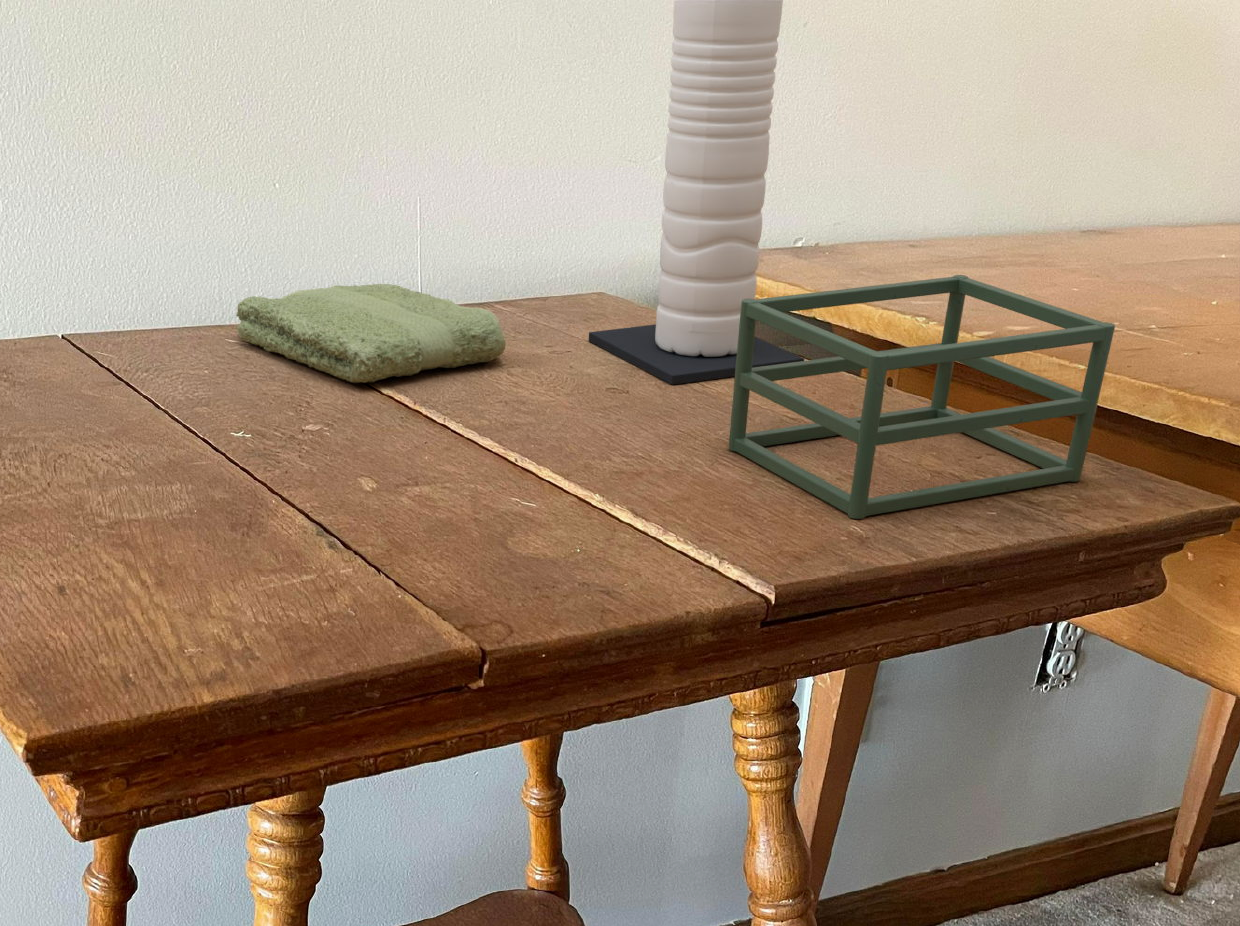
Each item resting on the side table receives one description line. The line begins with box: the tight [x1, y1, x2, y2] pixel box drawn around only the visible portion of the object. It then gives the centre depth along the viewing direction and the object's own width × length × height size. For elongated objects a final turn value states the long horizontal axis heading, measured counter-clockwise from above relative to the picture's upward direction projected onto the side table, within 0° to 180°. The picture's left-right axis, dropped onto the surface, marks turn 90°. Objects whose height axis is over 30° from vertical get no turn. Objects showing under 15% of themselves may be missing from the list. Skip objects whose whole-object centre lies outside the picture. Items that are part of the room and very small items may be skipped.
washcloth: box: [235, 283, 507, 383], centre depth 104 cm, size 13×18×3 cm
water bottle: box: [655, 0, 784, 357], centre depth 97 cm, size 9×6×25 cm
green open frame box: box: [728, 274, 1116, 520], centre depth 83 cm, size 13×15×8 cm
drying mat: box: [588, 323, 805, 386], centre depth 104 cm, size 12×10×1 cm
